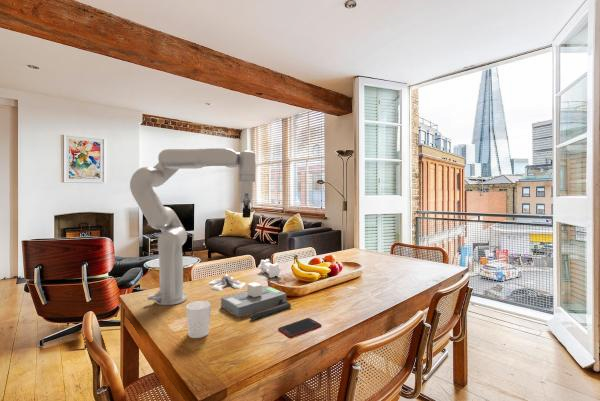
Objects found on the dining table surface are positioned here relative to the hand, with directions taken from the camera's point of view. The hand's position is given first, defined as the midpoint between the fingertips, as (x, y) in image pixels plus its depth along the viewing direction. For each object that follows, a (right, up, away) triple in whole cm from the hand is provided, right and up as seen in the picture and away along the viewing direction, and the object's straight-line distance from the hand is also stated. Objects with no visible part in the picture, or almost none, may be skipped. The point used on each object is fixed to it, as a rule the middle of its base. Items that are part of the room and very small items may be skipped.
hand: (246, 216), depth 136 cm
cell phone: (+24, -39, -28) cm, 54 cm away
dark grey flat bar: (+11, -38, -14) cm, 42 cm away
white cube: (+5, -33, -7) cm, 34 cm away
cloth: (-14, -37, +21) cm, 45 cm away
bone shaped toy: (+6, -36, +38) cm, 53 cm away
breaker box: (+5, -38, -7) cm, 39 cm away
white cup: (-11, -39, -33) cm, 52 cm away
